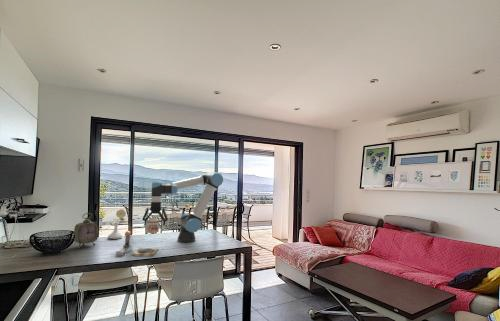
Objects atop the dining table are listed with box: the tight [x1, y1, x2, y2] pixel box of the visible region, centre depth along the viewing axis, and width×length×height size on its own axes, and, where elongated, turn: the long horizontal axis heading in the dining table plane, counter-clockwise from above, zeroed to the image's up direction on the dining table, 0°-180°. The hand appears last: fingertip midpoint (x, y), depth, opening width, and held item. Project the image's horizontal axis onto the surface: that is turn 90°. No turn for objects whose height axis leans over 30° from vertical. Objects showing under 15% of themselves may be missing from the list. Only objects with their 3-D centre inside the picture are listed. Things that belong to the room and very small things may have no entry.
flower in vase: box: [107, 208, 127, 240], centre depth 226 cm, size 13×11×25 cm
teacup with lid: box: [146, 216, 162, 234], centre depth 204 cm, size 12×9×12 cm
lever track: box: [115, 245, 133, 257], centre depth 187 cm, size 5×16×3 cm, turn 5°
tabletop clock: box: [73, 212, 100, 249], centre depth 198 cm, size 14×9×25 cm, turn 147°
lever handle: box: [122, 230, 132, 247], centre depth 192 cm, size 4×4×11 cm
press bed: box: [131, 247, 159, 257], centre depth 188 cm, size 14×14×2 cm
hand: (154, 229), depth 204 cm, fingers closed on teacup with lid, 12 cm apart
